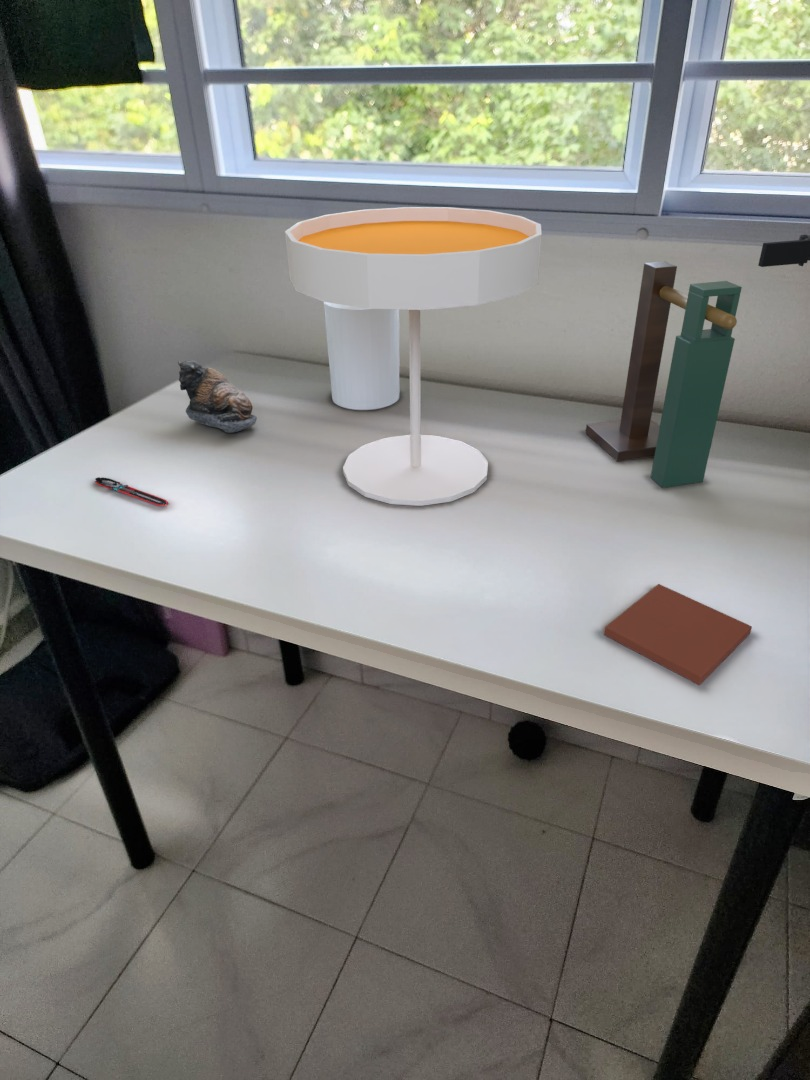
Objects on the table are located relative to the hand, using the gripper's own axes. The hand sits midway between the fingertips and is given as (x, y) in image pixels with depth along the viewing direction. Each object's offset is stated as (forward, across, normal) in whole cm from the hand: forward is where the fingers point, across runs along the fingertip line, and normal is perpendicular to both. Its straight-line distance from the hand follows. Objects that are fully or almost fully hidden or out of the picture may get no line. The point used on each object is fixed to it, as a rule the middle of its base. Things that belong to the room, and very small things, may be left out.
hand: (799, 267), depth 87 cm
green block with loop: (+11, 0, -26) cm, 29 cm away
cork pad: (+28, -28, -26) cm, 48 cm away
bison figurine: (+69, +34, -27) cm, 81 cm away
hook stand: (+11, +6, -26) cm, 29 cm away
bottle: (+44, +40, -27) cm, 66 cm away
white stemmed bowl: (+43, +12, -26) cm, 52 cm away
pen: (+81, +16, -26) cm, 87 cm away
